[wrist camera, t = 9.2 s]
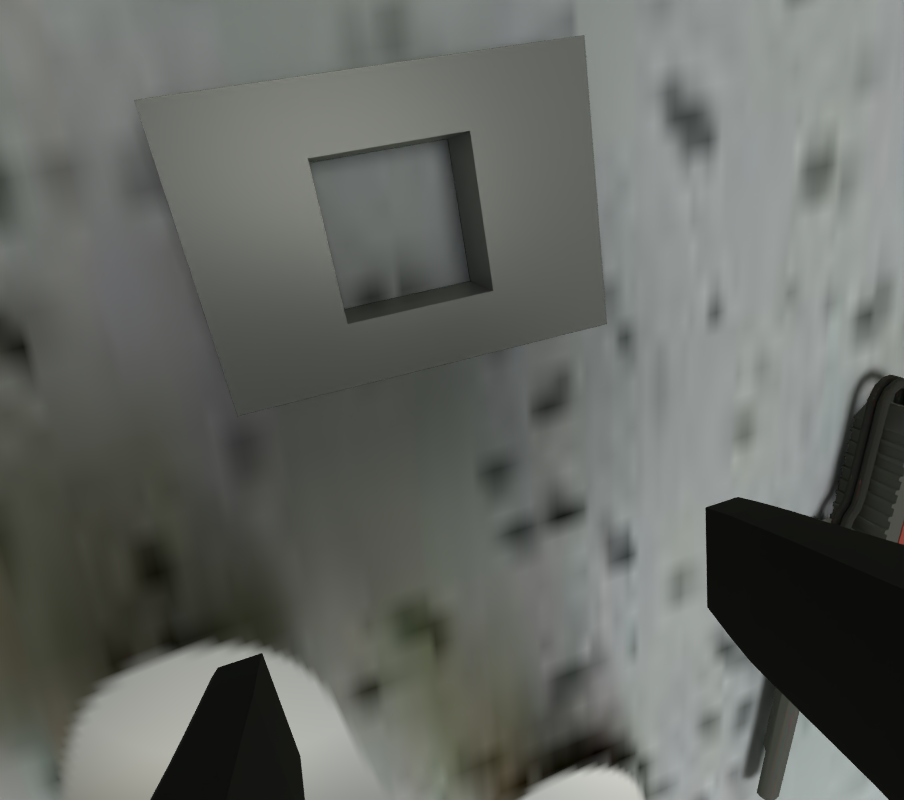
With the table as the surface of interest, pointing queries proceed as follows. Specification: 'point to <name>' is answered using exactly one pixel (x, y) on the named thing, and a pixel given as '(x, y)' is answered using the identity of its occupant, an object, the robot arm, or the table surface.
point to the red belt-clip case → (861, 509)
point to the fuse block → (303, 234)
